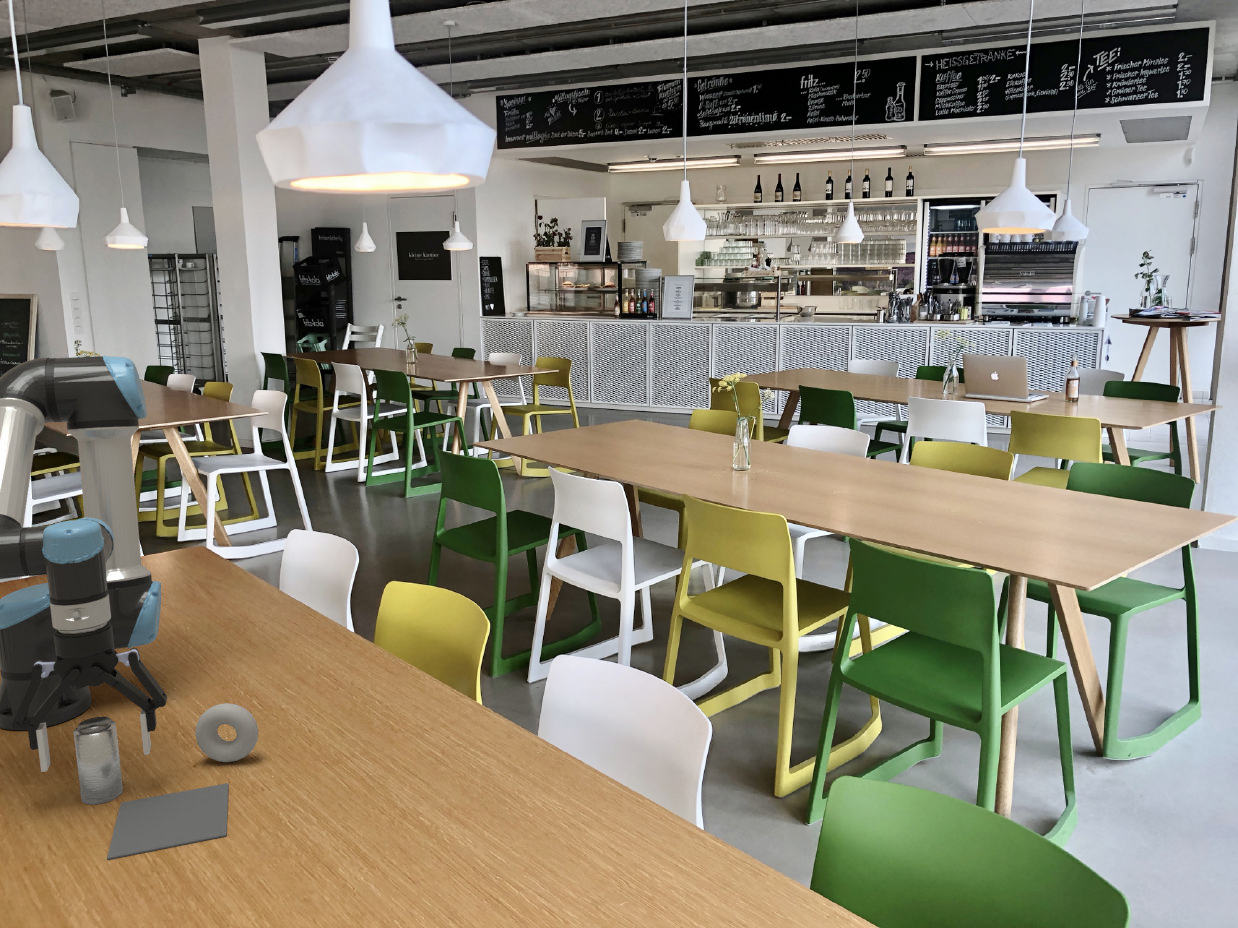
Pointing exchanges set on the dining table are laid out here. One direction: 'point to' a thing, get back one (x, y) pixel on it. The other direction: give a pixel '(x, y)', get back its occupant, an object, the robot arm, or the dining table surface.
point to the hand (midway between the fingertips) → (97, 759)
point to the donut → (215, 744)
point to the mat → (170, 821)
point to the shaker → (98, 760)
